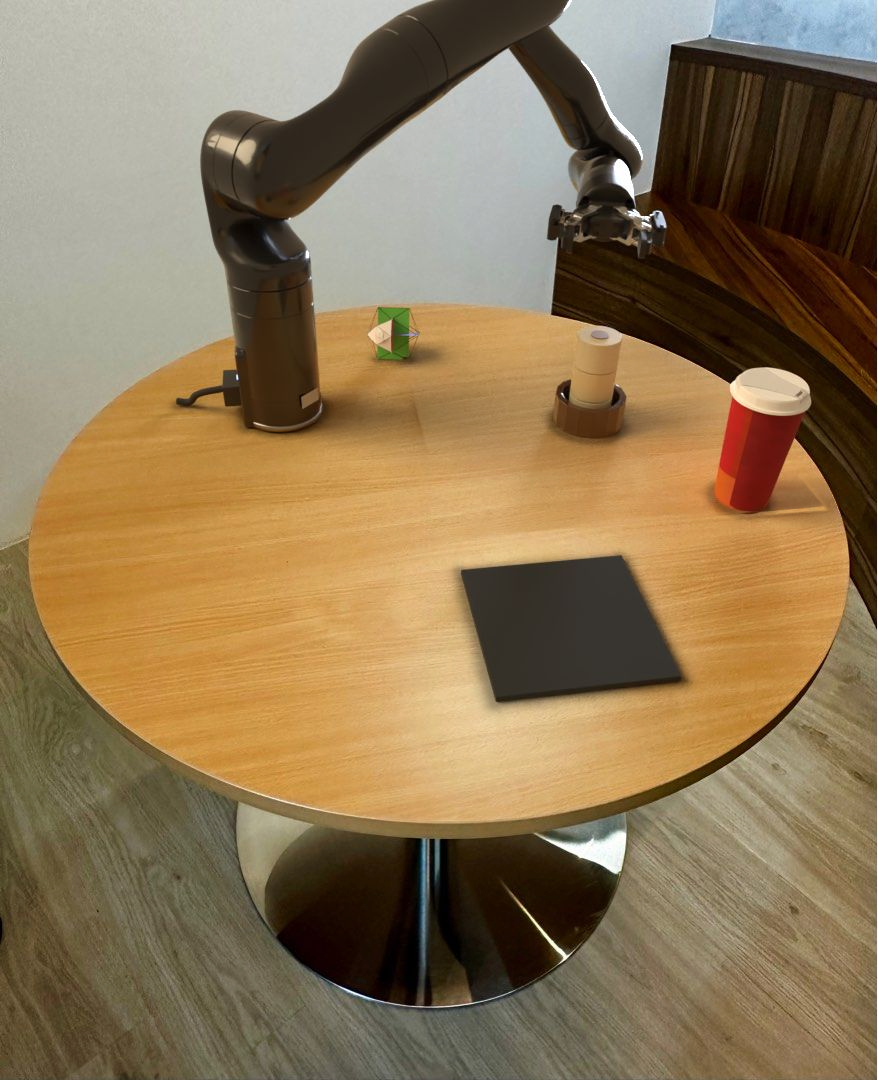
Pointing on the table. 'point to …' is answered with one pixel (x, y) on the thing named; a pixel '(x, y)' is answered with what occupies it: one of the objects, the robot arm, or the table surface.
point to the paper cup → (759, 435)
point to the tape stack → (595, 367)
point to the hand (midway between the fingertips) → (606, 248)
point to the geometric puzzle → (392, 333)
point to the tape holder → (588, 414)
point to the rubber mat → (565, 628)
